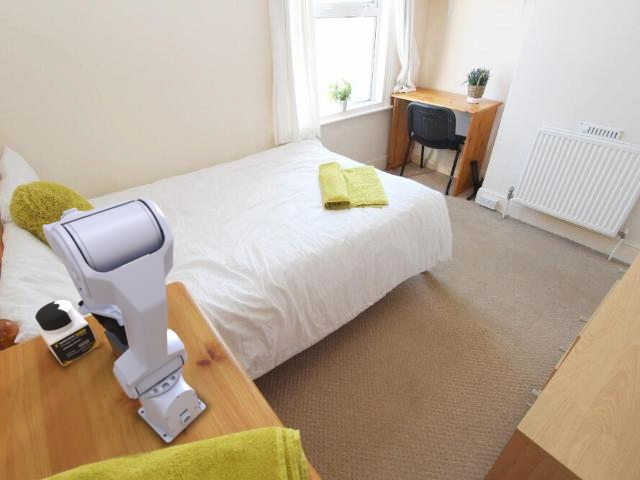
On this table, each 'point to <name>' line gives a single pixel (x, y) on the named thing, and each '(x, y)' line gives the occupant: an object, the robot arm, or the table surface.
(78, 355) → the medicine bottle
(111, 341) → the grey and red box
